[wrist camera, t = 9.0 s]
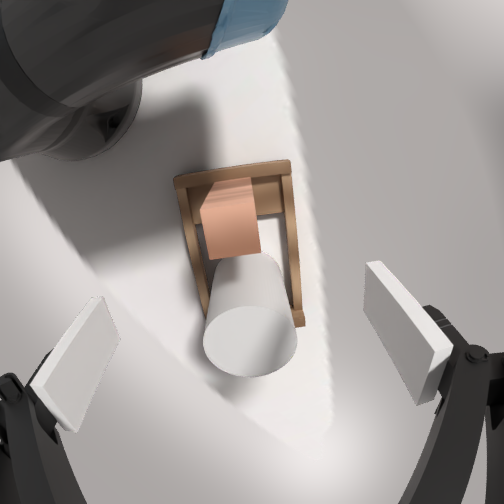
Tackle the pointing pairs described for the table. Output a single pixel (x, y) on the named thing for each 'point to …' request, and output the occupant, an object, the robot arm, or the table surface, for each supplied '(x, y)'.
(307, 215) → the table surface
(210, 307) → the cup
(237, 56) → the table surface
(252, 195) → the sled
